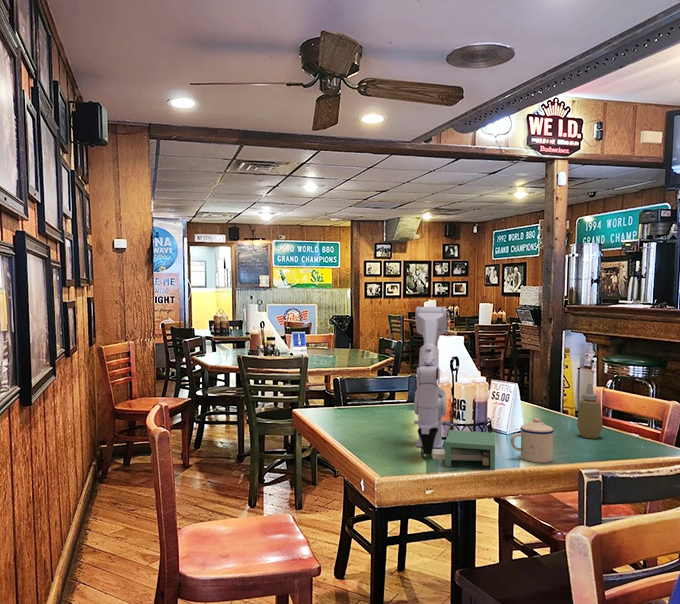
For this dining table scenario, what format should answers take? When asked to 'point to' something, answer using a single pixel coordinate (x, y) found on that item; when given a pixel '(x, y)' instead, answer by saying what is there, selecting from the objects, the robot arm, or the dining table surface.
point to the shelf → (471, 445)
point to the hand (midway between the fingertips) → (427, 453)
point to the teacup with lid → (535, 442)
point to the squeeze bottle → (589, 415)
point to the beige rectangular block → (457, 454)
